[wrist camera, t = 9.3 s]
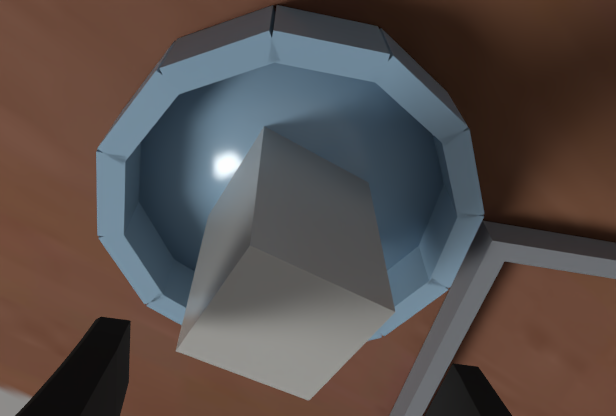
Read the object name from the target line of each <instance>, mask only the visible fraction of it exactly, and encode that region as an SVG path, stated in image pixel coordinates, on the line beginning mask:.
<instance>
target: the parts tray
mask: <svg viewBox="0 0 616 416" xmlns="http://www.w3.org/2000/svg"><path fill="white" fill-rule="evenodd" d="M504 261H505V262H512V263H518V264H525V265H531V266H537V267H544V268H550V269H556V270H563V271H569V272H575V273H582V274H588V275H595V276H601V277H607V278H614V279H616V243H614V242H608V241H602V240H596V239H590V238H584V237H578V236H572V235H566V234H560V233H554V232H548V231H542V230H536V229H530V228H524V227H518V226H512V225H506V224H500V223H494V222H488V221H482V223H481V225H480V227H479V229H478V231H477V233H476V235H475V238H474V240H473V242H472V244H471V246H470V248H469V250H468V252H467V254H466V256H465V258H464V261H463V263H462V265H461V267H460V269H459V271H458V273H457V275H456V277H455V279H454V282H453V284H452V286H451V288H450V290H449V292H448V294H447V296H446V298H445V300H444V302H443V305H442V307H441V309H440V311H439V313H438V315H437V317H436V319H435V321H434V323H433V326H432V328H431V330H430V332H429V334H428V336H427V338H426V340H425V342H424V344H423V346H422V349H421V351H420V353H419V355H418V357H417V359H416V361H415V363H414V365H413V367H412V370H411V372H410V374H409V376H408V378H407V380H406V382H405V384H404V386H403V388H402V390H401V393H400V395H399V397H398V399H397V401H396V403H395V405H394V407H393V409H392V411H391V414H390V416H422V415H423V413H424V411H425V410H426V408H427V406H428V404H429V402H430V400H431V398H432V396H433V395H434V393H435V391H436V389H437V387H438V385H439V383H440V381H441V380H442V378H443V376H444V374H445V372H446V370H447V368H448V366H449V365H450V363H451V361H452V359H453V357H454V355H455V353H456V351H457V350H458V348H459V346H460V344H461V342H462V340H463V338H464V336H465V335H466V333H467V331H468V329H469V327H470V325H471V323H472V321H473V320H474V318H475V316H476V314H477V312H478V310H479V308H480V306H481V305H482V303H483V301H484V299H485V297H486V295H487V293H488V291H489V290H490V288H491V286H492V284H493V282H494V280H495V278H496V276H497V275H498V273H499V271H500V269H501V267H502V265H503V263H504Z"/></svg>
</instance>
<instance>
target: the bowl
mask: <svg viewBox="0 0 616 416" xmlns="http://www.w3.org/2000/svg"><path fill="white" fill-rule="evenodd" d="M264 126H265V127H267V128H268V129H270V130H272V131H274V132H276V133H278V134H279V135H281V136H283V137H285V138H287V139H289V140H291V141H292V142H294V143H296V144H298V145H300V146H302V147H304V148H305V149H307V150H309V151H311V152H313V153H315V154H316V155H318V156H320V157H322V158H324V159H326V160H328V161H329V162H331V163H333V164H335V165H337V166H339V167H341V168H342V169H344V170H346V171H348V172H350V173H352V174H353V175H355V176H357V177H359V178H361V179H363V180H365V181H366V182H368V183H369V187H370V192H371V197H372V201H373V206H374V211H375V216H376V221H377V225H378V230H379V235H380V240H381V245H382V250H383V254H384V259H385V264H386V269H387V274H388V278H389V283H390V288H391V293H392V298H393V303H394V307H395V313H394V314H393V315H392V316H391V317H390V318H389V319H388V320H387V321H386V322H385V323H384V324H383V325H382V326H381V327H380V328H379V329H378V330H377V331H376V332H375V333H374V334H373V336H372V337H371V338H370V339H369V340H373V339H377V338H381V337H382V335H383V336H385V335H387V334H388V333H390V332H391V331H392V330H394V329H395V328H396V327H398V326H399V325H401V324H402V323H403V322H405V321H406V320H407V319H409V318H410V317H412V316H413V315H414V314H416V313H417V312H418V311H420V310H421V309H423V308H424V307H425V306H427V305H428V304H430V303H431V302H432V301H434V300H435V299H436V298H438V297H439V296H441V295H442V294H443V293H445V292H446V291H447V290H448V288H450V287H451V285H452V283H453V281H454V279H455V277H456V274H457V272H458V270H459V268H460V266H461V264H462V262H463V260H464V258H465V256H466V253H467V251H468V249H469V247H470V245H471V243H472V241H473V239H474V237H475V235H476V233H477V230H478V228H479V226H480V224H481V222H482V220H483V218H484V215H483V214H484V208H483V202H482V197H481V191H480V185H479V180H478V174H477V168H476V163H475V157H474V151H473V146H472V140H471V134H470V129H469V128H468V126H467V124H466V122H465V121H464V119H463V117H462V116H461V114H460V112H459V111H458V109H457V107H456V106H455V104H454V102H453V101H452V99H451V97H450V96H449V94H448V92H447V91H446V90H445V89H444V88H443V87H442V86H441V85H440V84H439V83H437V82H436V81H435V80H434V79H433V78H432V77H431V76H430V75H429V74H428V73H427V72H426V71H425V70H424V69H423V68H422V67H421V66H420V65H419V64H418V63H417V62H416V61H415V60H414V59H413V58H412V57H411V56H410V55H409V54H408V53H407V52H405V51H404V50H403V49H402V48H401V47H400V46H399V45H398V44H397V43H396V42H395V41H394V40H393V39H392V38H391V37H390V36H389V35H388V34H387V33H386V32H385V31H384V30H383V29H382V28H380V29H379V28H378V26H375V25H370V24H365V23H360V22H356V21H351V20H346V19H341V18H337V17H332V16H327V15H322V14H318V13H313V12H308V11H303V10H298V9H294V8H289V7H284V6H279V5H277V6H276V12H275V9H274V7H273V5H272V6H269V7H266V8H263V9H261V10H258V11H255V12H252V13H249V14H246V15H243V16H241V17H238V18H235V19H232V20H229V21H226V22H224V23H221V24H218V25H215V26H212V27H209V28H206V29H204V30H201V31H198V32H195V33H192V34H189V35H187V36H184V37H181V38H178V39H177V40H176V41H174V42H173V44H172V45H171V46H170V48H169V49H168V50H167V52H166V53H165V54H164V56H163V57H162V58H161V60H160V61H159V62H158V64H157V65H156V66H155V68H154V69H153V70H152V72H151V73H150V74H149V76H148V77H147V78H146V80H145V81H144V82H143V84H142V85H141V86H140V88H139V89H138V90H137V92H136V93H135V94H134V96H133V97H132V98H131V100H130V101H129V102H128V104H127V105H126V106H125V108H124V109H123V110H122V112H121V113H120V115H119V116H118V118H117V119H116V121H115V122H114V124H113V125H112V127H111V128H110V130H109V131H108V133H107V134H106V136H105V138H104V139H103V141H102V142H101V144H100V145H99V147H98V148H97V149H98V150H97V151H96V167H97V234H98V236H99V240H100V241H101V242H102V244H103V245H104V247H105V248H106V250H107V251H108V253H109V254H110V255H111V257H112V258H113V260H114V261H115V263H116V264H117V265H118V267H119V268H120V270H121V271H122V273H123V274H124V276H125V277H126V278H127V280H128V281H129V283H130V284H131V286H132V287H133V288H134V290H135V291H136V293H137V294H138V296H139V297H140V299H141V300H142V301H143V303H144V304H146V303H147V306H148V307H149V308H151V309H153V310H155V311H157V312H159V313H160V314H162V315H164V316H166V317H168V318H169V319H171V320H173V321H175V322H177V323H179V324H180V325H182V323H183V319H184V315H185V310H186V306H187V302H188V298H189V294H190V290H191V285H192V281H193V277H194V273H195V269H196V264H197V260H198V256H199V252H200V248H201V244H202V239H203V235H204V231H205V227H206V223H207V219H208V215H209V214H210V212H211V211H212V209H213V207H214V206H215V204H216V203H217V201H218V199H219V198H220V196H221V195H222V193H223V191H224V190H225V188H226V187H227V185H228V183H229V182H230V180H231V179H232V177H233V175H234V174H235V172H236V171H237V169H238V167H239V166H240V164H241V163H242V161H243V159H244V158H245V156H246V154H247V153H248V151H249V150H250V148H251V146H252V145H253V143H254V142H255V140H256V138H257V137H258V135H259V134H260V132H261V130H262V129H263V127H264ZM381 334H382V335H381Z"/></svg>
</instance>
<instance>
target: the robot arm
mask: <svg viewBox="0 0 616 416" xmlns="http://www.w3.org/2000/svg"><path fill="white" fill-rule="evenodd" d="M129 353H130V321H129V320H121V319H114V318H106V317H100V318H98V319H96V320H95V321H94V323H93V324H92V326H91V327H90V328H89V330H88V331H87V333H86V334H85V335H84V337H83V338H82V339H81V341H80V342H79V343H78V344H77V346H76V347H75V348H74V349H73V351H72V352H71V353H70V354H69V356H68V357H67V358H66V359H65V361H64V362H63V363H62V364H61V365H60V367H59V368H58V369H57V370H56V371H55V372H54V374H53V375H52V376H51V377H50V378H49V379H48V380H47V382H46V383H45V384H44V385H43V386H42V387H41V388H40V389H39V391H38V392H37V393H36V394H35V395H34V396H33V397H32V398H31V400H30V401H29V402H28V403H27V404H26V405H25V406H24V407H23V408H22V409H21V410H20V411H19V412H18V413H17V414H16V415H15V416H120V413H121V409H122V405H123V402H124V398H125V394H126V390H127V386H128V383H129ZM425 416H512V415H511V414H510V412H509V411H508V409H507V408H506V406H505V405H504V403H503V402H502V401H501V399H500V398H499V396H498V395H497V393H496V392H495V390H494V389H493V387H492V386H491V385H490V383H489V382H488V380H487V379H486V377H485V376H484V374H483V373H482V372H481V370H480V369H479V367H475V366H468V365H460V364H452V366H451V368H450V370H449V372H448V373H447V375H446V377H445V379H444V381H443V383H442V385H441V386H440V388H439V390H438V392H437V394H436V396H435V398H434V399H433V401H432V403H431V405H430V407H429V409H428V411H427V412H426V414H425Z"/></svg>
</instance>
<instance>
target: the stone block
mask: <svg viewBox="0 0 616 416" xmlns="http://www.w3.org/2000/svg"><path fill="white" fill-rule="evenodd" d="M394 313H395V307H394V303H393V298H392V293H391V288H390V283H389V278H388V274H387V269H386V264H385V259H384V254H383V250H382V245H381V240H380V235H379V230H378V225H377V221H376V216H375V211H374V206H373V201H372V197H371V192H370V187H369V183H368V182H366V181H365V180H363V179H361V178H359V177H357V176H355V175H353V174H352V173H350V172H348V171H346V170H344V169H342V168H341V167H339V166H337V165H335V164H333V163H331V162H329V161H328V160H326V159H324V158H322V157H320V156H318V155H316V154H315V153H313V152H311V151H309V150H307V149H305V148H304V147H302V146H300V145H298V144H296V143H294V142H292V141H291V140H289V139H287V138H285V137H283V136H281V135H279V134H278V133H276V132H274V131H272V130H270V129H268V128H267V127H265V126H264V127H263V129H262V130H261V132H260V134H259V135H258V137H257V138H256V140H255V142H254V143H253V145H252V146H251V148H250V150H249V151H248V153H247V154H246V156H245V158H244V159H243V161H242V163H241V164H240V166H239V167H238V169H237V171H236V172H235V174H234V175H233V177H232V179H231V180H230V182H229V183H228V185H227V187H226V188H225V190H224V191H223V193H222V195H221V196H220V198H219V199H218V201H217V203H216V204H215V206H214V207H213V209H212V211H211V212H210V214H209V215H208V219H207V223H206V227H205V231H204V235H203V239H202V244H201V248H200V252H199V256H198V260H197V264H196V269H195V273H194V277H193V281H192V285H191V290H190V294H189V298H188V302H187V306H186V310H185V315H184V319H183V323H182V327H181V331H180V335H179V340H178V344H177V348H176V351H177V352H180V353H183V354H185V355H188V356H191V357H193V358H196V359H199V360H201V361H204V362H207V363H209V364H212V365H215V366H217V367H220V368H223V369H225V370H228V371H231V372H234V373H236V374H239V375H242V376H244V377H247V378H250V379H252V380H255V381H258V382H260V383H263V384H266V385H268V386H271V387H274V388H276V389H279V390H282V391H285V392H287V393H290V394H293V395H295V396H298V397H301V398H303V399H306V400H310V399H311V398H312V397H313V396H314V395H315V394H316V393H317V392H318V391H319V390H320V389H321V388H322V387H323V386H324V385H325V384H326V383H327V382H328V381H329V380H330V378H331V377H332V376H333V375H334V374H335V373H336V372H337V371H338V370H339V369H340V368H341V367H342V366H343V365H344V364H345V363H346V362H347V361H348V360H349V359H350V358H351V357H352V356H353V355H354V354H355V353H356V352H357V351H358V350H359V349H360V348H361V347H362V346H363V345H364V344H365V343H366V342H367V341H368V340H369V339H370V338H371V337H372V336H373V334H374V333H375V332H376V331H377V330H378V329H379V328H380V327H381V326H382V325H383V324H384V323H385V322H386V321H387V320H388V319H389V318H390V317H391V316H392V315H393V314H394Z"/></svg>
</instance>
